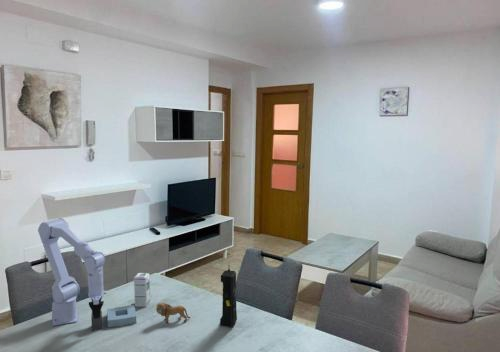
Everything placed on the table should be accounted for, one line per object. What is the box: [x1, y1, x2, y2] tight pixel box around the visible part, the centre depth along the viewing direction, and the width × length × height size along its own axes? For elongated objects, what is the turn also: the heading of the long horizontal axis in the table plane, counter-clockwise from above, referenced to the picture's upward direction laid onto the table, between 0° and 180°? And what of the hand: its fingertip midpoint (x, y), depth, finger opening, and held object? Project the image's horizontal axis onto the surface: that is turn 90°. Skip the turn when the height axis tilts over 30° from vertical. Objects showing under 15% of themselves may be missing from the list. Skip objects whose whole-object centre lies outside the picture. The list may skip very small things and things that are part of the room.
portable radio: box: [219, 264, 238, 328], centre depth 165 cm, size 8×6×25 cm
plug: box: [91, 310, 103, 331], centre depth 160 cm, size 4×4×6 cm
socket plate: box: [106, 304, 137, 328], centre depth 168 cm, size 12×12×3 cm
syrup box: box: [133, 272, 151, 308], centre depth 182 cm, size 6×6×14 cm
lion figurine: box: [155, 302, 191, 324], centre depth 167 cm, size 15×5×9 cm, turn 108°
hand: (96, 313), depth 160 cm, fingers open, 7 cm apart
